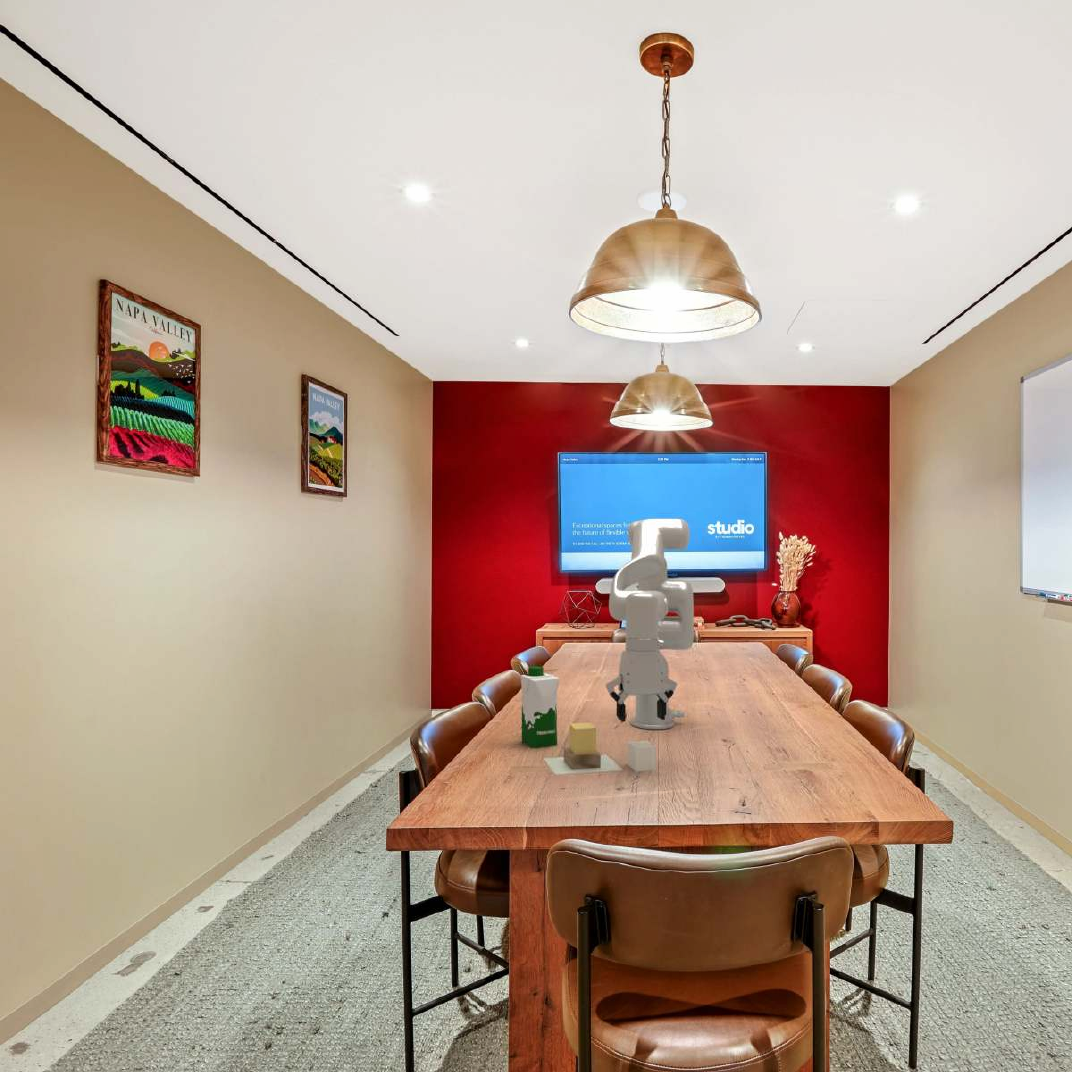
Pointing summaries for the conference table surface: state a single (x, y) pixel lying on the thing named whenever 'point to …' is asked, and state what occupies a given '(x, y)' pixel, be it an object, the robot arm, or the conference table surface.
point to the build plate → (562, 768)
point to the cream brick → (641, 756)
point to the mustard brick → (582, 738)
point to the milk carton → (539, 708)
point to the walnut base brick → (582, 760)
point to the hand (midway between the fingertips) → (641, 719)
